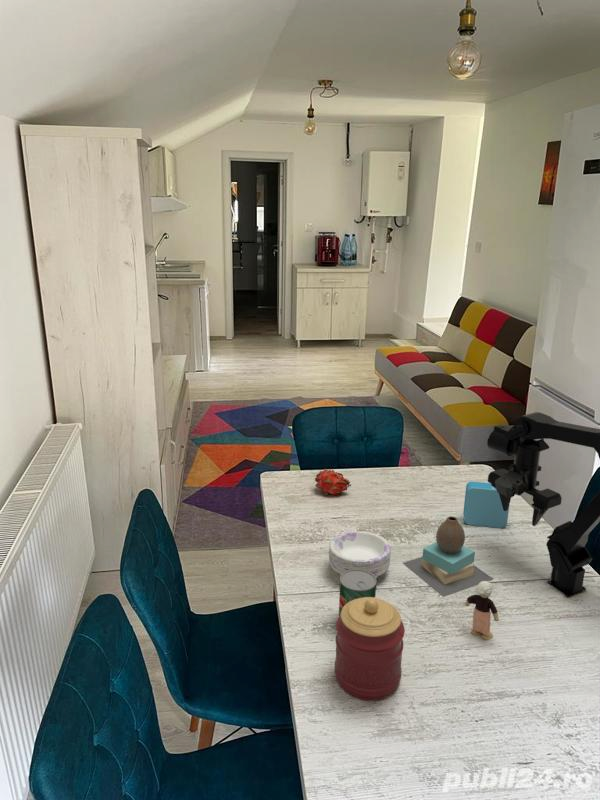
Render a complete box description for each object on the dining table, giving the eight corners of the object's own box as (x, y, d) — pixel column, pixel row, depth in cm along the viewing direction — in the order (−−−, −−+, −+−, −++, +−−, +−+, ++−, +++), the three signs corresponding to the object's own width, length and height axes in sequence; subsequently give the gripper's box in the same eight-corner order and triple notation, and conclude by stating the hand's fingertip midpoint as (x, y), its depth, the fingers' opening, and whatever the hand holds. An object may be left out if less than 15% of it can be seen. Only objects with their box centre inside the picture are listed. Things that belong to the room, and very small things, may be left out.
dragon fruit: (312, 493, 199) (347, 503, 196) (308, 488, 191) (345, 499, 188) (319, 468, 201) (354, 478, 198) (316, 462, 193) (352, 473, 190)
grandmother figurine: (499, 633, 131) (505, 583, 127) (494, 644, 128) (501, 592, 124) (464, 621, 135) (469, 572, 131) (459, 631, 132) (464, 581, 128)
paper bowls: (345, 550, 163) (346, 523, 160) (398, 567, 155) (400, 539, 153) (317, 578, 150) (318, 550, 148) (373, 598, 143) (375, 568, 140)
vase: (434, 554, 149) (436, 522, 146) (436, 540, 155) (439, 510, 153) (462, 559, 147) (466, 527, 145) (463, 545, 154) (467, 514, 151)
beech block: (473, 575, 151) (474, 564, 150) (444, 584, 147) (446, 574, 146) (448, 557, 159) (449, 547, 158) (421, 566, 155) (422, 556, 154)
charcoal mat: (493, 580, 150) (493, 579, 150) (443, 598, 143) (443, 596, 143) (450, 549, 164) (450, 548, 163) (402, 564, 156) (402, 562, 156)
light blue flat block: (504, 521, 179) (509, 484, 175) (506, 529, 175) (511, 491, 171) (462, 517, 181) (466, 480, 178) (463, 524, 177) (467, 487, 173)
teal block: (473, 562, 152) (475, 551, 151) (451, 574, 146) (452, 564, 145) (444, 547, 158) (445, 536, 157) (422, 558, 153) (423, 548, 152)
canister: (358, 645, 127) (362, 572, 122) (413, 674, 120) (419, 597, 114) (320, 680, 118) (323, 602, 112) (377, 714, 110) (382, 632, 105)
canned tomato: (332, 615, 137) (334, 572, 133) (364, 607, 139) (366, 566, 136) (347, 637, 130) (349, 593, 126) (380, 629, 132) (383, 585, 129)
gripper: (475, 455, 155) (470, 510, 160) (535, 482, 140) (527, 542, 145) (505, 447, 161) (499, 501, 165) (566, 472, 145) (558, 530, 150)
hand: (519, 518), depth 156 cm, fingers open, 9 cm apart
